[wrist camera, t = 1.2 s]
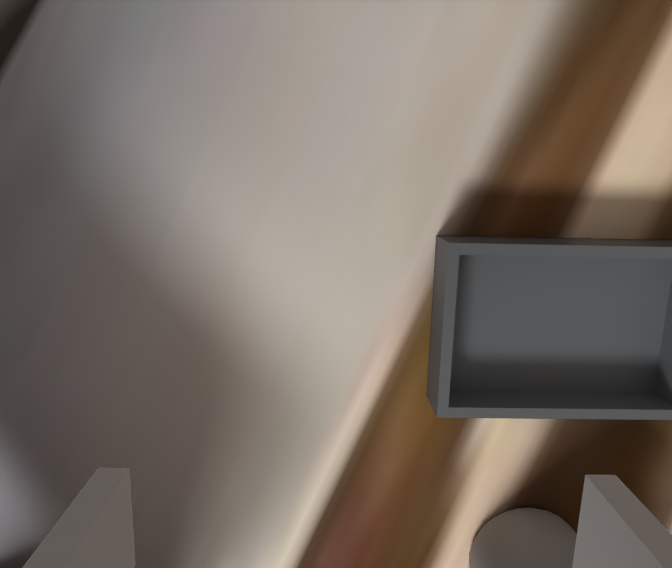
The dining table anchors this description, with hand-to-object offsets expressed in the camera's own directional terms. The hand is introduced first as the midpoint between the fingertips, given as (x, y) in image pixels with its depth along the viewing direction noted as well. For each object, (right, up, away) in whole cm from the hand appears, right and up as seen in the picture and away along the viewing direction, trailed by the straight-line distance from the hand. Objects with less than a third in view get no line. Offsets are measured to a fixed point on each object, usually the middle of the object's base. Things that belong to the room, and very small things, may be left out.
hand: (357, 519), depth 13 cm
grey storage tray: (+12, +4, +18) cm, 22 cm away
